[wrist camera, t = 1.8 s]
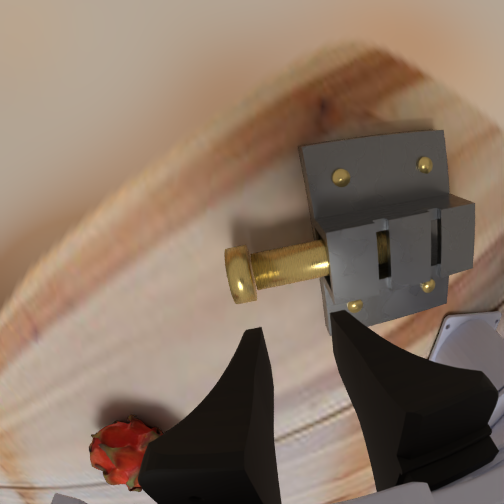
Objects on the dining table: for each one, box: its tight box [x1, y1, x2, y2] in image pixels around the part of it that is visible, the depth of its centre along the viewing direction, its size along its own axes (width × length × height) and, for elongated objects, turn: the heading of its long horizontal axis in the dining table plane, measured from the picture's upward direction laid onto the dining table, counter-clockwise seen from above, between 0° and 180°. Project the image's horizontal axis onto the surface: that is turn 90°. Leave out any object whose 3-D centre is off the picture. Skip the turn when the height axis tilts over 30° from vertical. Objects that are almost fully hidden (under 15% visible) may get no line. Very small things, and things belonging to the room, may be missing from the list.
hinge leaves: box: [298, 130, 475, 336], centre depth 19 cm, size 13×10×4 cm
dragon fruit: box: [89, 415, 163, 492], centre depth 25 cm, size 8×8×12 cm
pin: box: [225, 230, 388, 304], centre depth 19 cm, size 3×11×3 cm, turn 102°
